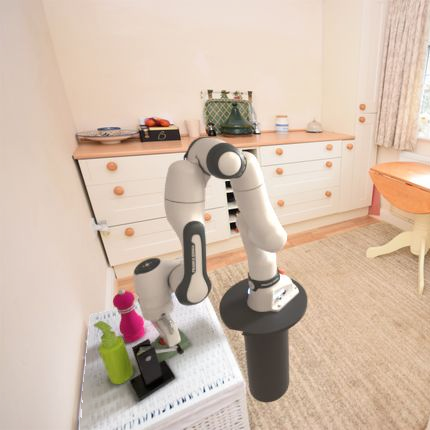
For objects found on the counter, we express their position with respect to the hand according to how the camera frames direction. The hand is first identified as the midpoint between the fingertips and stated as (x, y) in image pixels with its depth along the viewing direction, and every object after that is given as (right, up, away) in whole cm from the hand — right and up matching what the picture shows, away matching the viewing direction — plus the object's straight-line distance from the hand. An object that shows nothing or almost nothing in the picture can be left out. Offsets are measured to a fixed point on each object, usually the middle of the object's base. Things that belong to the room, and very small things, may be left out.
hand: (165, 339), depth 97 cm
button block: (0, -4, +2) cm, 4 cm away
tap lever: (+4, 0, -10) cm, 11 cm away
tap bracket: (+1, -9, -9) cm, 13 cm away
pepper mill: (-14, -1, +6) cm, 16 cm away
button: (0, -2, +1) cm, 2 cm away
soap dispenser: (-10, -8, -8) cm, 15 cm away
